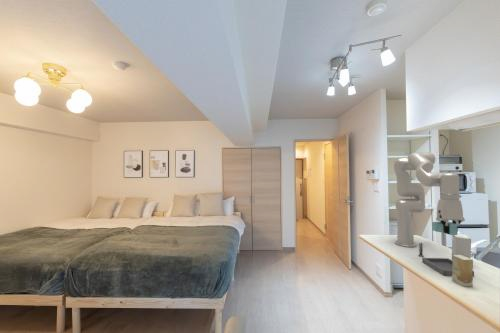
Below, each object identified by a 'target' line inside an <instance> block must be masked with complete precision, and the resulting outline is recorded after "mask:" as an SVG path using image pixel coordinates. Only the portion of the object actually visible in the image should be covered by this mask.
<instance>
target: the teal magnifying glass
mask: <svg viewBox="0 0 500 333" xmlns="http://www.w3.org/2000/svg"><path fill="white" fill-rule="evenodd" d="M448 226H449V234H448V235H450V236H452V235H457V234H458V232H457V224H455V223H452V221H448ZM431 227H432V231H433V232H436V233H437V232H438V233H444V231H443V225H442V223H441V222H439V221H433V222H432V224H431ZM444 234H445V233H444Z"/></svg>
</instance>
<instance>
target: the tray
mask: <svg viewBox="0 0 500 333" xmlns="http://www.w3.org/2000/svg"><path fill="white" fill-rule="evenodd" d="M421 258H422V263H423V264H425V265H426V266H427V267H429V268H431V269H432V270H434V271H436V272H437V273H439V274H440V275H442V276H444V277H452V266H453V260H452V259H450V258H449V257H448V258H447V257H445V258H443V257H442V258H441V257H421ZM474 277H475V272H474V270H473V278H474Z"/></svg>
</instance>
